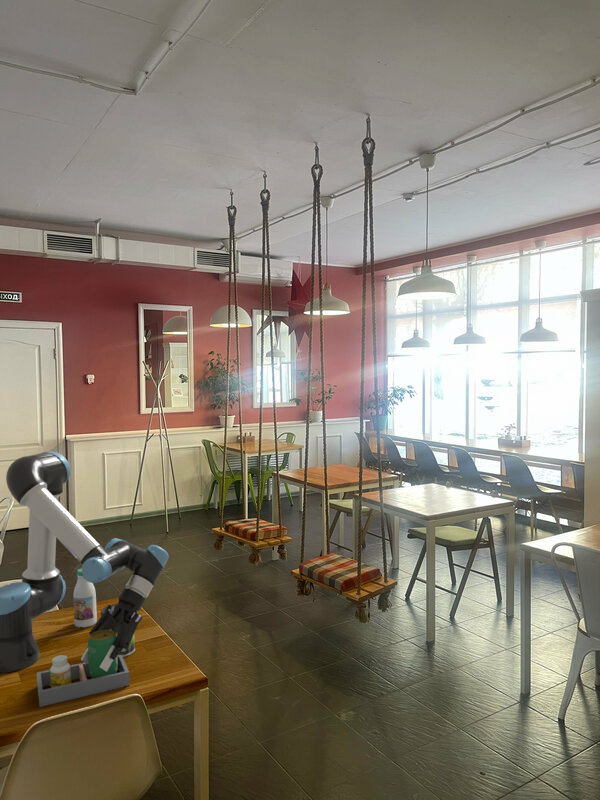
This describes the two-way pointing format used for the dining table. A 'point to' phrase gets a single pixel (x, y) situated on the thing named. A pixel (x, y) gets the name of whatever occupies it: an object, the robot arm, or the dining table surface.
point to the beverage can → (101, 653)
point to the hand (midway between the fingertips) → (93, 665)
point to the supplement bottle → (60, 671)
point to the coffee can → (131, 647)
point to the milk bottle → (84, 602)
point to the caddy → (80, 683)
